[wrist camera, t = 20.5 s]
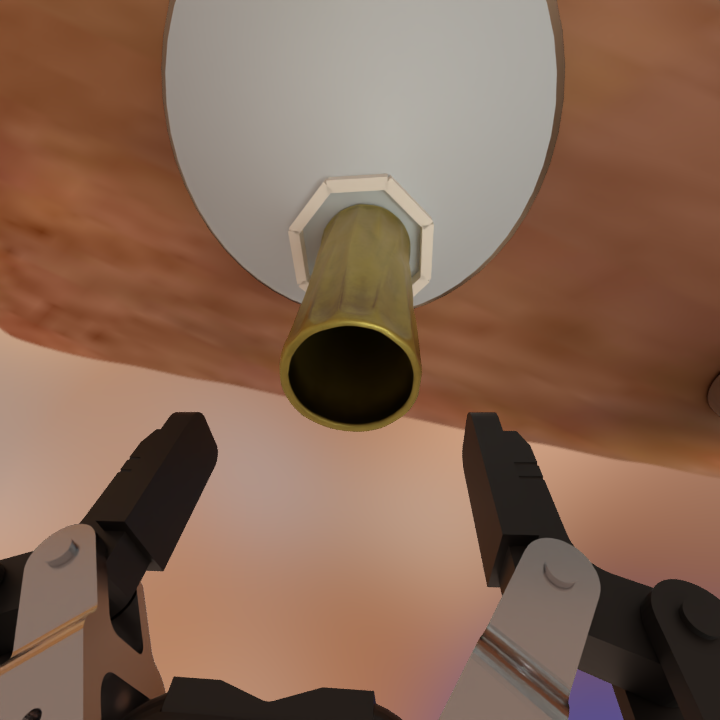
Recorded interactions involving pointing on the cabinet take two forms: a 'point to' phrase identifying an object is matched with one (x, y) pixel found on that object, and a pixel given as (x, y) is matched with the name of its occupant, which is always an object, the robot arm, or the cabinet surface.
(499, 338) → the cabinet surface
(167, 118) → the turntable base
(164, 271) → the cabinet surface
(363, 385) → the vase
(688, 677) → the robot arm
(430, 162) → the turntable
